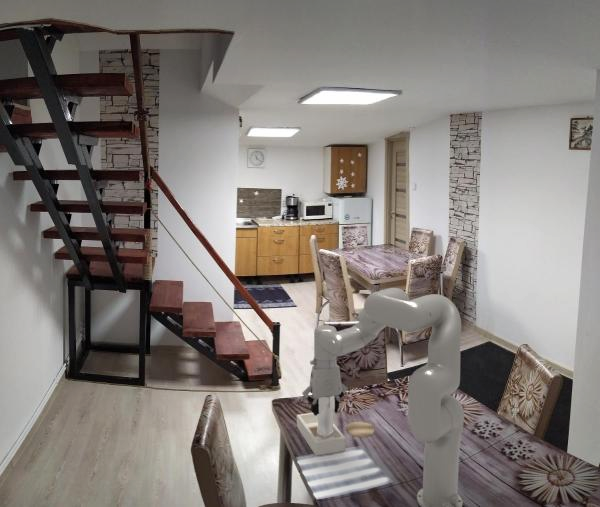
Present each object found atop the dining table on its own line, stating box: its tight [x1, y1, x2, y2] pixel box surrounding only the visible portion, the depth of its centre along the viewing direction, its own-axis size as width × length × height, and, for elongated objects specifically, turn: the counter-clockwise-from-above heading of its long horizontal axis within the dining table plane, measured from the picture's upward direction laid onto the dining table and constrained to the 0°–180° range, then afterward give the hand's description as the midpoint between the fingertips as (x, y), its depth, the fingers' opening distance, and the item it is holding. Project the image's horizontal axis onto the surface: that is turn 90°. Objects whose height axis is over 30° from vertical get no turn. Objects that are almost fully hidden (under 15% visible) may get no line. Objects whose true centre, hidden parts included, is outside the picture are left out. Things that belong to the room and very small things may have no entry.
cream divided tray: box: [296, 412, 346, 456], centre depth 190 cm, size 21×10×5 cm, turn 18°
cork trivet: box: [346, 421, 375, 438], centre depth 196 cm, size 10×10×1 cm
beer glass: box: [316, 396, 336, 439], centre depth 184 cm, size 7×7×15 cm
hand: (325, 411), depth 184 cm, fingers closed on beer glass, 6 cm apart
